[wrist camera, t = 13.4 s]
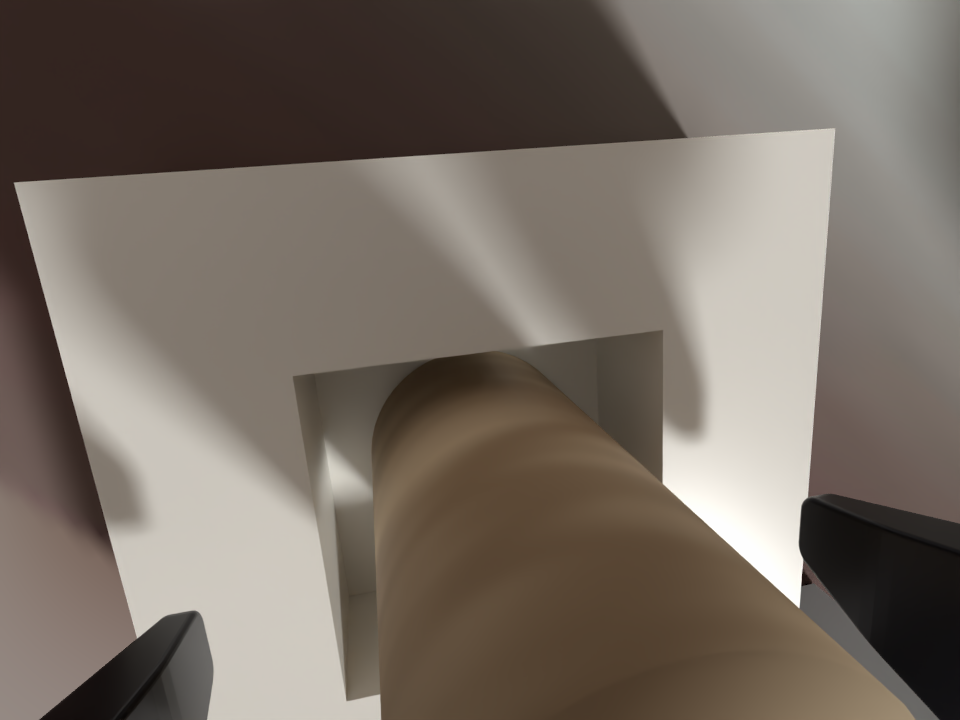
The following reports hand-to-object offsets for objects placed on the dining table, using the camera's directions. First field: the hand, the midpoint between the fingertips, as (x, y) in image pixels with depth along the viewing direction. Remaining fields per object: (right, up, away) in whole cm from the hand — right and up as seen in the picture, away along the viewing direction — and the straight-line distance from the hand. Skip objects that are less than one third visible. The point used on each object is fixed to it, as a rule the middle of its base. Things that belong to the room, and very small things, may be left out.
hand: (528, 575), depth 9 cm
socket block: (-1, +1, +5) cm, 6 cm away
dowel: (-1, +1, +4) cm, 5 cm away
